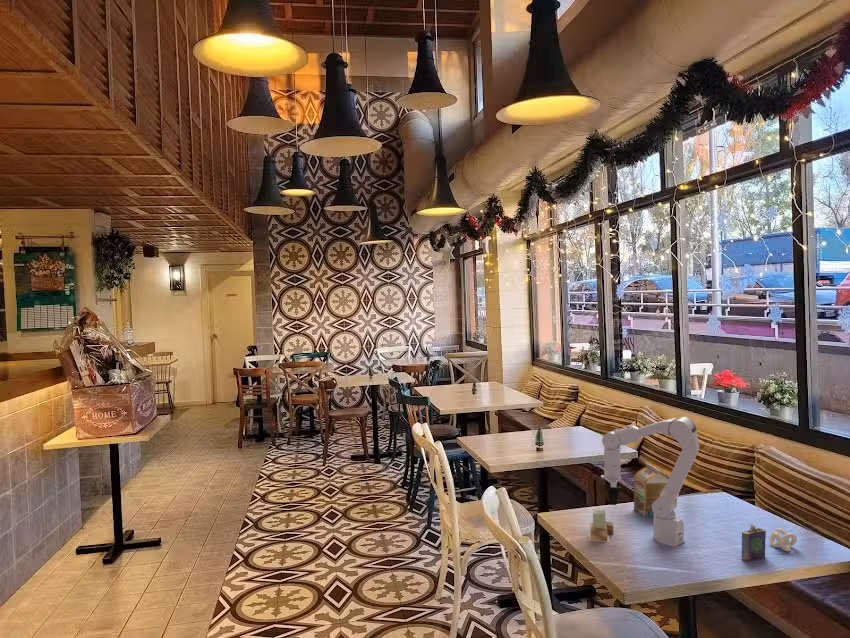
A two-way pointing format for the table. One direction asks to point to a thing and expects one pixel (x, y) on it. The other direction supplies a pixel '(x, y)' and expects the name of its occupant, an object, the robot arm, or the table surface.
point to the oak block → (598, 533)
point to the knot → (782, 539)
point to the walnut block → (609, 527)
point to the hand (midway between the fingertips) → (612, 501)
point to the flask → (753, 544)
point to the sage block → (599, 519)
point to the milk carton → (647, 489)
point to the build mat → (598, 540)
